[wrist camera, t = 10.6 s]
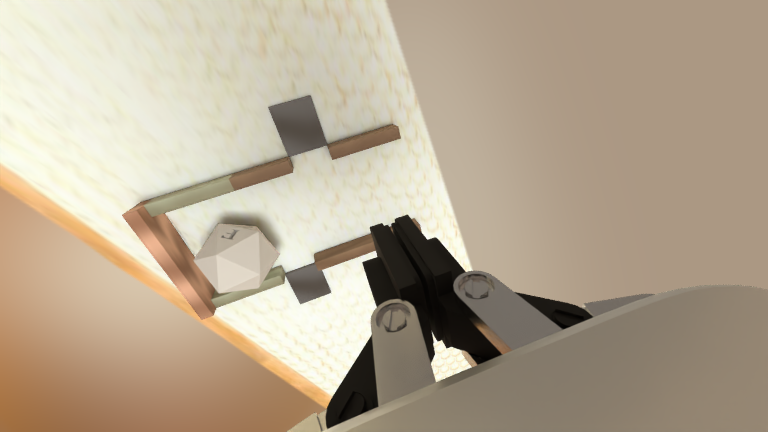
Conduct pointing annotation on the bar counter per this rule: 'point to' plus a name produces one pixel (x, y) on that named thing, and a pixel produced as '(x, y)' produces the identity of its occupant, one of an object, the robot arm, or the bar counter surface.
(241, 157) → the bar counter surface
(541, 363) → the robot arm
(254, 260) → the die
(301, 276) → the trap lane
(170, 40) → the bar counter surface
